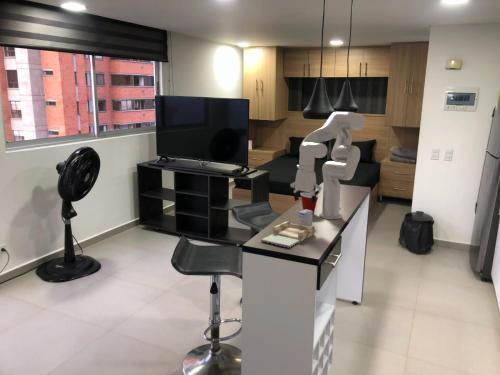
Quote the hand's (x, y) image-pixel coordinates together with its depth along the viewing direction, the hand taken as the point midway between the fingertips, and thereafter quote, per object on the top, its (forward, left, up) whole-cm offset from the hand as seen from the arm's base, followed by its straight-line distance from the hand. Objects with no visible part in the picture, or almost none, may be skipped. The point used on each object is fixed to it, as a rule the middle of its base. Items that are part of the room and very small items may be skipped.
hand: (304, 201), depth 209 cm
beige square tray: (+14, +2, -14) cm, 20 cm away
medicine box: (-1, 0, -14) cm, 14 cm away
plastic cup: (-25, -10, -14) cm, 30 cm away
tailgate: (+21, +2, -12) cm, 25 cm away
